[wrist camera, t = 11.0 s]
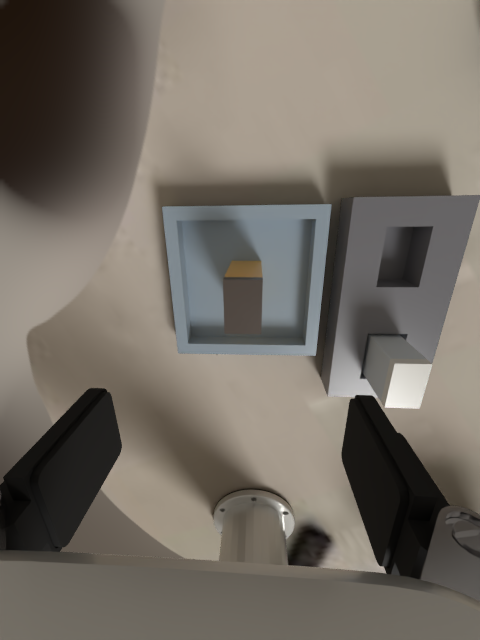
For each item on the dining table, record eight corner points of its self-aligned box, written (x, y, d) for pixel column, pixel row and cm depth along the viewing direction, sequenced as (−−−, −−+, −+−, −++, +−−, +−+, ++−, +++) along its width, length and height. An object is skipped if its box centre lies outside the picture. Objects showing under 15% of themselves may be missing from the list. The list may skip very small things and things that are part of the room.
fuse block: (405, 379, 33) (422, 398, 30) (320, 378, 34) (327, 396, 30) (452, 196, 25) (480, 195, 22) (341, 198, 26) (353, 197, 23)
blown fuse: (260, 302, 30) (261, 334, 22) (232, 302, 30) (224, 333, 22) (261, 260, 28) (262, 279, 21) (231, 260, 28) (222, 279, 21)
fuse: (381, 361, 32) (419, 408, 24) (354, 361, 32) (384, 407, 24) (389, 325, 30) (432, 364, 23) (360, 325, 30) (394, 363, 23)
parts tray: (311, 344, 32) (315, 355, 30) (183, 343, 33) (178, 353, 30) (325, 204, 26) (331, 204, 24) (170, 206, 27) (161, 206, 25)
